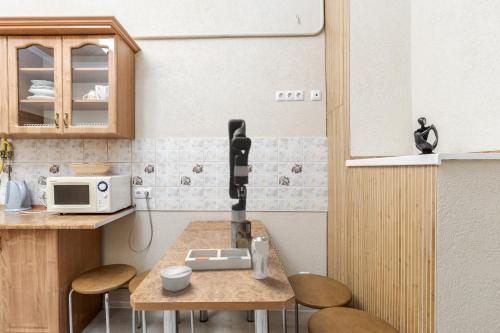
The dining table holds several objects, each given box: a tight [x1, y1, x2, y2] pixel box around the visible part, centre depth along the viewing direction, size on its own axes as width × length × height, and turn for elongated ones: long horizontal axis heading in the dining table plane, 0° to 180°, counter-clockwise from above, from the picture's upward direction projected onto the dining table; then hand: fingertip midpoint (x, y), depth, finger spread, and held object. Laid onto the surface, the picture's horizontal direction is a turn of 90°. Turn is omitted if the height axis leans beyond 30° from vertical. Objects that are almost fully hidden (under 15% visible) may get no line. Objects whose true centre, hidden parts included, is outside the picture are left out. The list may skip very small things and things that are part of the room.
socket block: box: [184, 248, 252, 271], centre depth 114 cm, size 14×28×4 cm, turn 95°
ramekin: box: [160, 265, 193, 292], centre depth 91 cm, size 11×11×5 cm
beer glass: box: [250, 236, 270, 281], centre depth 99 cm, size 7×7×15 cm
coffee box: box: [230, 219, 252, 254], centre depth 129 cm, size 9×6×16 cm
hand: (241, 205), depth 129 cm, fingers open, 8 cm apart
